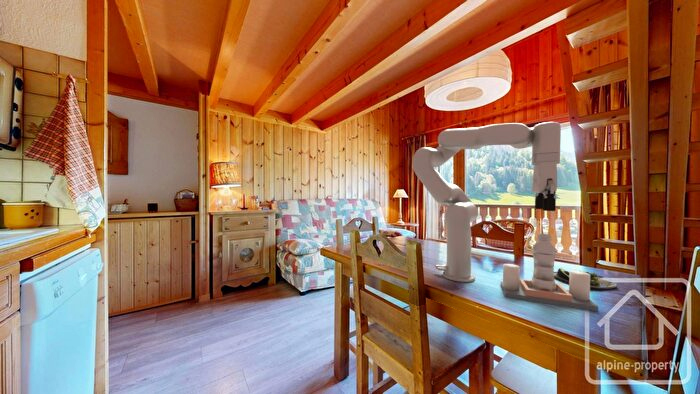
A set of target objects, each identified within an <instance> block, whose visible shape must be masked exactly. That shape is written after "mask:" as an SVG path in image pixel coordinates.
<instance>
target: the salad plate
mask: <svg viewBox="0 0 700 394" xmlns="http://www.w3.org/2000/svg"><path fill="white" fill-rule="evenodd" d="M579 271H580V272H582V271H581V270H579ZM584 272H585V273H588V274H590V291H592V290H593V291H601V290H602V291H603V289H604V290H610V289H613V288H616V287H617V286H618V284H617V283H616V282H613V281H610V280H606V279H604V276H603V275H598V274H596V273H595V272H589V271H584ZM554 280H557V281H558V282H561V283H564V284H567V285H569V271H568V270H565V269H563V268H562V267H561V268H558V269H557V271H554ZM600 283H601V284H600ZM603 284H604V285H603ZM602 285H603V286H602ZM605 285H606V287H605Z"/></svg>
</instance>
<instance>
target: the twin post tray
mask: <svg viewBox="0 0 700 394" xmlns="http://www.w3.org/2000/svg"><path fill="white" fill-rule="evenodd" d="M502 265H503V266H502V280H501V281H500V288H501V289H502V292H503V296H504V297H505V298H509V299H514V300H521V301H529V302H536V303H541V304H548V305H555V306H561V307H562V306H563V307H568V308H573V309H580V310H587V311H593V312H599V305H597V304H596V303H595V302H593V300H591V298H590V297H591V290H590V274H588V273H585V272H586V271H581V270H579V271H578V270H569V271H568V272H569V284H568V289H566V288H565V287H564V286H563V285H562V284H560V283H556V282H555V284H556V290H555V292H549V291H541V290H534V289H533V287H532V283H531V282H532V279H531V280H530V279H522V278H521V277H520V273H521V272H520V269H521V268H520V266H519V265H517V264H512V263H503V264H502ZM580 271H581V272H580Z"/></svg>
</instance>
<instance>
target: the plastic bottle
mask: <svg viewBox="0 0 700 394" xmlns="http://www.w3.org/2000/svg"><path fill="white" fill-rule="evenodd" d="M536 239H537V241H536V242H535V243H534V244H533V245H532V248H531V252H532V258H533V275H532V278H531V280H532V282H531V283H532V287H533V289H534V290H541V291H549V292H555V290H556V284H557V283H556V281H555V278H554V272H555V260H556V256H557V255H556V254H557V251H556V248H555V246H554V245H553V243H552V242H551V241H552V234H547V233H537V237H536ZM555 283H556V284H555Z"/></svg>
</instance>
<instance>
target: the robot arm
mask: <svg viewBox="0 0 700 394" xmlns="http://www.w3.org/2000/svg"><path fill="white" fill-rule="evenodd" d="M561 127H562V126H561V124H560V122H556V121H547V122H541V123H538V124H535V125H534V126H533V127H528V126H527V125H526V124H524V123H520V122H519V123H518V122H512V123H511V122H509V123H508V122H507V123H495V124H488V125H484V126H479V127H477V126H476V127H467V128H466V127H464V128H463V127H462V128H447V129H444V130H442V131H441V132H440V133H439V135H438V137H437V143H438V146H437V147H436V148H433V147H429V146H428V147H427V146H424V147H420V148H418V149H417V150H416V151H415V153H414V154H413V157H412V169H413V172H414V173H415V175H416V177H417V178H418V180H419V181H420V182H421V183H422V185H423V186H424V187H425V189H426V190H427V192H428V193H429V194H430V195H431V196H432V197H431V198H433V199H434V201H435V202H436V203H437V204H439V205H444V206H445V205H447V206H448V207H447V208H446V210H445V216H444V217H445V218H444V219H445V227H446V263H445V264H443V265H441V264H435V269H436V270H437V271H440V272H441V271H443V272H442V276H443V278H444V279H447V280H451V281H454V282H458V283H459V282H460V283H470V282H474V281H475V280H476V276H475V274H473V273H472V228H471V223H473V222H474V221H476V220H477V218H478V215H479V211H478V208H477V206H476V205H475V204H474V202H473V200H471V198H470V197H469V196H468V195H467V194H466V193H465V192H464V191H463V189H462V188H461V187H459V186H458V185H456V184H454V183H449V182H448V181H446V180H445V178H444V177H443V176H442V175H441V173H440V172H439V171H438V170H436V168H439V167H441V166H442V165H444V164H445V163H446V162H448V161H449V160H450V159H452V158H453V157H454V156H455V155H456V154H457V153H458V152H460V151H461V150H480V149H481V148H484V147H487V146H511V147H512V148H513V149H517V150H518V149H527V148H531V150H532V152H531V155H532V156H531V166H533V167H534V168H533V171H532V185H531V186H532V187H531V188H532V189H531V190H532V193H535V195H534V196H535V198H534V208H535V209H536V210H542V211H543V212H555V211H556V201H557V199H556V198H557V196H556V194H557V190H558V165H559V164H561V136H562V135H561V131H562V129H561Z"/></svg>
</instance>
